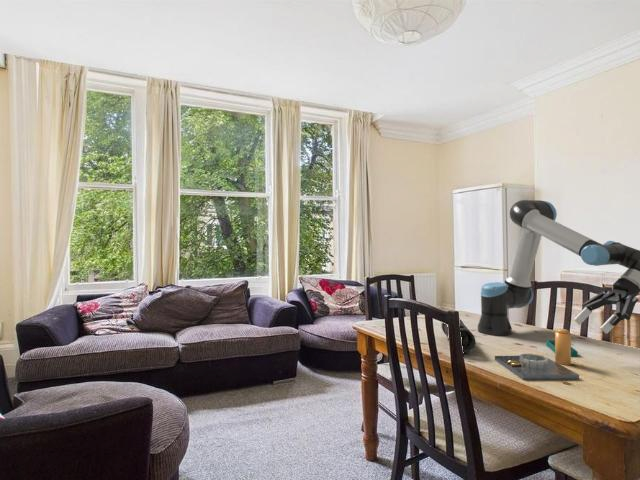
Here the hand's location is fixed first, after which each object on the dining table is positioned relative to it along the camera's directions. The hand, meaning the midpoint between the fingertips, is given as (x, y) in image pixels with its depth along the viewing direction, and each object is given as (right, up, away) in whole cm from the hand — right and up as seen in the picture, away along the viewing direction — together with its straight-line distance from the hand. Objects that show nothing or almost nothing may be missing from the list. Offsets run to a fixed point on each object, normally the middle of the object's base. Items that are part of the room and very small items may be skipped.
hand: (589, 326), depth 138 cm
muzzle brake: (-39, -14, +25) cm, 48 cm away
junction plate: (-23, -14, -5) cm, 27 cm away
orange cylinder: (-9, -13, +1) cm, 16 cm away
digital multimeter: (0, -14, +16) cm, 21 cm away
